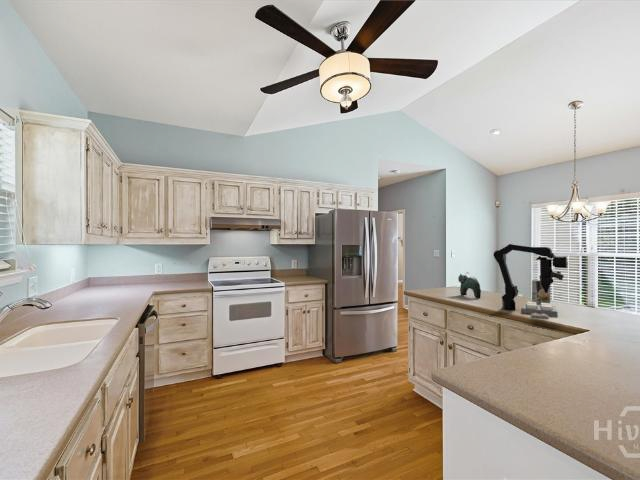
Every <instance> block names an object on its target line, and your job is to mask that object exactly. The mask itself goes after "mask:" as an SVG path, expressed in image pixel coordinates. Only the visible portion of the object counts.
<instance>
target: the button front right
mask: <svg viewBox="0 0 640 480" xmlns="http://www.w3.org/2000/svg"><path fill="white" fill-rule="evenodd" d="M540 305H541V304H540ZM552 306H553V305H552V304H551V305H541V309H542V310H552Z"/></svg>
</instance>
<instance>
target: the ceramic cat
mask: <svg viewBox="0 0 640 480" xmlns="http://www.w3.org/2000/svg"><path fill="white" fill-rule="evenodd" d="M467 274H468V275H470V273H469V272H468V271H466V273H465V274H464V275H463V274H462V273H460V274H459V276H458V279H457V280H458V282H459V283H460V289H459V291H460V294H461V295H467V292H468V290H469V289H470V290H471V291H472V292H473V296H474V298H475V297H476V298H480V299H481V297H482V296H481V295H482V290H481V285H480V284H481V283H480V282H479V281H478V279H477V278H476V277H474V276H470V277H468V275H467ZM461 295H460V296H461Z"/></svg>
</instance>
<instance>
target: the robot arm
mask: <svg viewBox="0 0 640 480" xmlns="http://www.w3.org/2000/svg"><path fill="white" fill-rule="evenodd" d="M512 251H517V252H523V253H525V252H526V253H532V254H535V255H538V256H537V258H536V259H535V260H536V261H539V273H540V275H539V281H540V283H541V285H542V287H543V289H544V291H545V293H548V289H549V285H550V286H551V284H554V279H553V278H555V279H558V280H559V281H563V279H564V277H565V275H564V274H563V273H561V271H556V272H555V271H554V269H552V268H553V267H554V268H555V269H556V268H557V269H568V266H569V265H568V263H569V262H568V258H567V256H556V255H555V254H554V253H553V250H552V249H551V247H549V246H527V245H519V244H513V243H509V244H507V245H506V246H504V247H502V248H501V249H499V250H497V249H496V250H495V251H494V252H493V257H494V259H495V262H496V263H497V264H498V266H499V269H500V273H501V275H502V279H503V282H504V294H503V295H502V296H501V300H502V301H501V303H502V305H501V307H502V308H501V309H503V310H507V311H516V310H517V309H516V302H515V298H516V297H517V296H518V295H519V290H518V286H517V285H514V283H513V281H512V278H511V275H510V271H509V268H508V264H507V254H509V253H510V252H512Z"/></svg>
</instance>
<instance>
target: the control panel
mask: <svg viewBox="0 0 640 480" xmlns="http://www.w3.org/2000/svg"><path fill="white" fill-rule="evenodd" d="M536 305H537V309H531V308H527V303H522V309H521V310H522V311H521V313H522V314H526V313H528V314H527V315H531V313H539V314H548V317H556V318H557V317H558V310H557V307H556V306H555V305H551V306H552V310H542V309H541V304H536Z"/></svg>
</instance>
